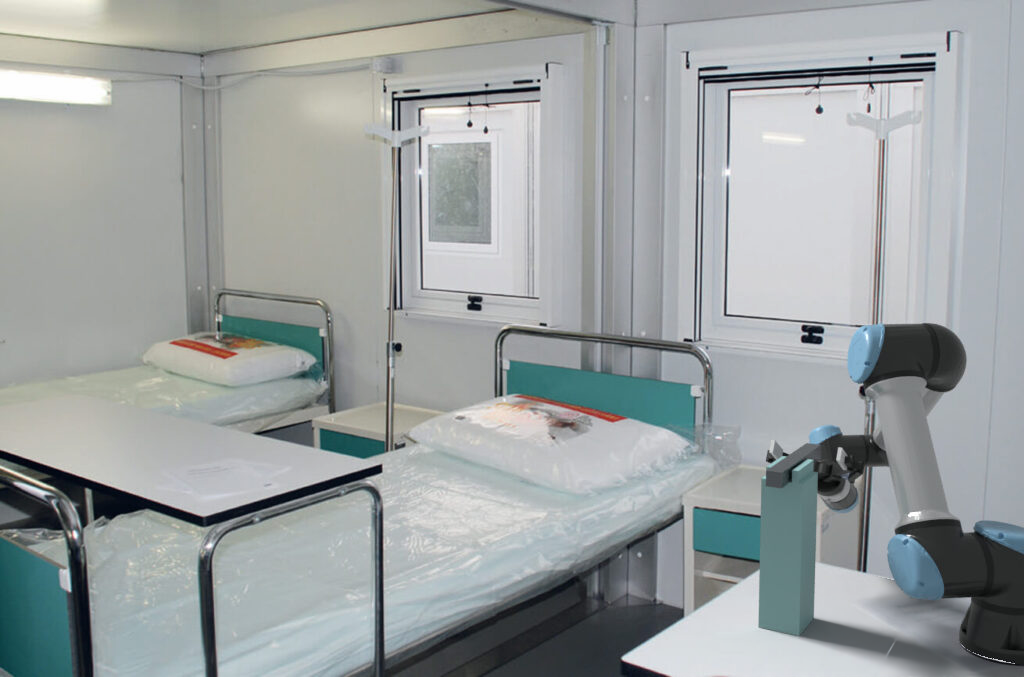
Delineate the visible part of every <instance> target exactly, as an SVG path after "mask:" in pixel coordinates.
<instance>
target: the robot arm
mask: <svg viewBox="0 0 1024 677" xmlns="http://www.w3.org/2000/svg"><path fill="white" fill-rule="evenodd" d="M847 349H848V350H847V357H846V358H847V359H846V361H847V362H846V363H847V364H846V366H847V371H848V376H849V378H850V379H851V381H852V382H853V383H857V385H861V384H862V385H863V386H862V387H863V390H864V393H865V396H866V397H868V399H871V400H872V401H874V403H875V408H876V412H877V417H878V421H879V422H878V423H877V425H876V427H875V428H874V429H873V431H872V432H871V433H870V434H846V435H845V434H844V435H843V432H842V430H841V428H840V427H839V426H837V425H835V424H834V425H833V424H824V425H820V426H818V427H815V428H813V429H812V430H811V431H810V432H809V435H808V440H809V442H808V443H810V444H819V445H821V459H820V460H819V461H817V462H816V463H815V464H814V465H813V472H818V486H817V496H818V497H819V498H820V499H821V500H822V502H823V503H824V505H825V506H826V507H827V508H829V510H831V511H833V512H835V513H837V514H847V513H850V512H852V511H853V510H854V509H855V508H856V507H857V506H858V504H859V500H860V496H859V492H858V489H857V487H856V486H855V482H856V480H857V479H858V478H860V477H861V476H863V475H864V471H865V468H875V467H881V468H883V467H887V468H889V471H890V472H889V473H890V475H891V480H892V485H893V490H894V494H895V499H896V503H897V504H896V505H897V508H898V513H899V516H900V518H899V521H898V523H897V524H896V525H895V526H894V536H892V537H891V538H890V540H888V542H887V548H886V549H887V551H888V552H887V553H886V556H887V563H888V567H889V570H890V574H891V576H892V577H893V580H894V581H895V584H896V585H897V587H898V588H899V589H900V590H901V591H902V592H903V593H904V594H905V595H907V596H908V597H910V598H912V599H915V600H930V601H937V600H938V601H939V600H942V599H962V598H964V599H965V598H970V604H969V605H968V609H967V610H966V613H965V615H964V617H963V620H962V622H961V624H960V626H959V633H958V642H959V641H960V643H961V644H962V645H963V646H964V647H965V648H966V649H968V650H970V651H971V652H974V653H976V654H979V655H981V656H985V657H988V658H992V659H993V658H994V659H998V660H1003V661H1006V662H1011V663H1015V664H1021V665H1020V666H1023V665H1024V527H1023V526H1020V525H1016V524H1012V523H1008V522H1004V521H996V520H978V521H976V522H975V523H974V526H973V528H972V529H973V530H974V531H969V532H964V530H963V527H962V523H961V520H960V519H959V517H956V516H955V515H954V514H952V513H951V512H950V510H949V506H948V502H947V498H946V494H945V490H944V489H945V488H944V485H943V480H942V477H941V473H940V467H939V464H938V461H937V456H936V452H935V447H934V442H933V439H932V435H931V430H930V427H929V422H928V416H929V414H930V413H931V412H932V410H933V409H934V408H935V406H936V404H938V402H939V401H940V400H941V398H942V397H943V395H944V394H946V393H948V392H951V391H953V390H954V389H955V388H956V387H957V385H958V384H959V383H960V381H962V379H963V376H964V375H965V372H966V369H967V368H966V367H967V359H968V358H967V353H966V349H965V346H964V344H963V342H962V341H961V339H960V338H959V337H958V335H957V334H956V333H955V332H953V331H952V330H951V329H949V328H947V327H946V326H944V325H941V324H937V323H932V322H925V323H924V322H923V323H893V324H892V323H885V324H884V323H877V324H867V325H862V326H861V327H860V326H859V328H858V329H857V330H856V331H855V332H854V334H852V337H851V340H850V342H849V346H848V348H847ZM790 454H791V453H786V452H784V449H783V448H782V447H781V445H780V444H779V443H778V441H777V440H774V439H771V442H770V446H769V449H767V453H766V458H765V462H766V463H768V464H769V465H770V464H771V463H773V462H774V461H776V460H777V459H779V458H780V457H782V456H788V455H790ZM960 643H959V644H960ZM961 644H960V645H961ZM966 649H965V650H966ZM1015 664H1014V665H1015ZM1022 664H1023V665H1022Z"/></svg>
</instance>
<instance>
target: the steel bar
mask: <svg viewBox="0 0 1024 677" xmlns="http://www.w3.org/2000/svg"><path fill="white" fill-rule="evenodd" d="M789 454H790V455H788V456H787V457H785V458H784V459H782V460H781V461H780V462H778V463H777V464H775V465H774V466H772V467H771V468H769V469H768V470H766V469H765V470H766V471H765V476H766V486H767V487H775V488H783V487H784V486H785V485H787V484H788V483H789V482H791V481H792V470H793V469H795V468H796V467H797V466H799V465H800V464H801V463H803V462H804V461H806V460H807V459H811V460H814V464H815V463H816V462H817V461H819V460H820V459H821V445H819V444H810V442H806V443H805V444H803V445H801V446H800V447H798V448H797V449H795V450H794V451H793V452H791V453H789Z"/></svg>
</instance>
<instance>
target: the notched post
mask: <svg viewBox="0 0 1024 677" xmlns="http://www.w3.org/2000/svg"><path fill="white" fill-rule="evenodd" d="M785 457H787V456H782V457H780V458H779V459H777V460H776V461H774V462H773V463H771V464H770V463H769V464H768V465H767V466H766V468H765V470H768V469H769V468H771V467H772V466H774V465H775V464H777V463H778V462H780V461H781V460H782V459H784V458H785ZM813 465H814V460H811V459H807V460H806V461H804V462H803V463H801V464H800V465H799V466H797V467H796V468H795V469H793V470H792V481H791V482H789V483H788V484H787V485H785V486H784V487H783V488H775V487H767V486H766V475H764V476H763V477H762V478H761V486H760V487H761V488H760V489H761V490H760V492H761V493H760V530H759V531H760V533H759V537H760V538H759V539H760V541H759V574H758V575H759V578H758V579H759V582H758V585H759V586H758V587H759V588H758V591H759V592H758V621H757V622H758V628H761V629H764V630H765V629H766V630H771V631H774V632H779V633H784V634H788V635H794V636H798V637H799V636H800V635H801V634H802V633H803V632H804V631H805V629H807V627H808V626H809V625H810V624H811V622H812V621H813V620H814V619H815V592H816V591H815V587H816V559H817V558H816V555H817V554H816V551H817V521H818V517H817V514H818V513H817V512H818V494H817V486H818V472H813Z"/></svg>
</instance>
